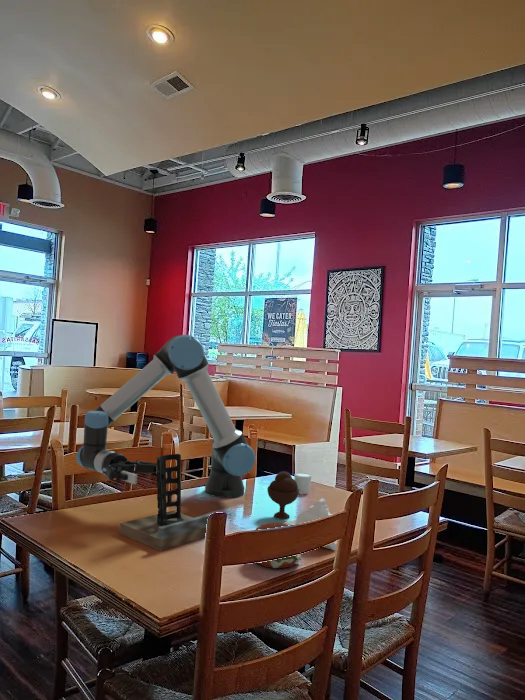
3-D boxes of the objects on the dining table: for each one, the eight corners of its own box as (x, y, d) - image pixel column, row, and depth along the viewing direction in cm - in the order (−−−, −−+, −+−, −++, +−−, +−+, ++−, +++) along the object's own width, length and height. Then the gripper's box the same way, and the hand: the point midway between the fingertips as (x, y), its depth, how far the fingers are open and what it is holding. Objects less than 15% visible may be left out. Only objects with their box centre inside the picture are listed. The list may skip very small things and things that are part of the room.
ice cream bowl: (258, 515, 186) (261, 471, 186) (280, 510, 195) (283, 467, 195) (282, 523, 179) (285, 477, 179) (304, 518, 187) (307, 473, 187)
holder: (175, 530, 156) (174, 459, 156) (150, 530, 157) (148, 459, 158) (188, 520, 166) (186, 453, 167) (164, 519, 168) (162, 453, 169)
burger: (250, 550, 154) (253, 514, 154) (299, 554, 153) (302, 518, 153) (247, 569, 140) (250, 530, 140) (301, 574, 140) (304, 534, 140)
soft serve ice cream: (300, 537, 172) (312, 492, 174) (343, 555, 163) (355, 507, 165) (279, 537, 162) (293, 488, 164) (324, 555, 153) (338, 504, 155)
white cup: (310, 495, 218) (312, 477, 218) (293, 493, 219) (294, 476, 219) (309, 490, 225) (310, 473, 225) (292, 489, 225) (294, 472, 225)
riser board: (172, 520, 176) (173, 501, 176) (212, 535, 164) (214, 514, 164) (119, 533, 160) (120, 512, 160) (160, 551, 149) (161, 528, 149)
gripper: (141, 470, 190) (184, 482, 176) (76, 480, 170) (119, 495, 157) (142, 448, 190) (185, 459, 176) (78, 456, 170) (120, 469, 157)
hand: (154, 476), depth 167 cm, fingers open, 13 cm apart
